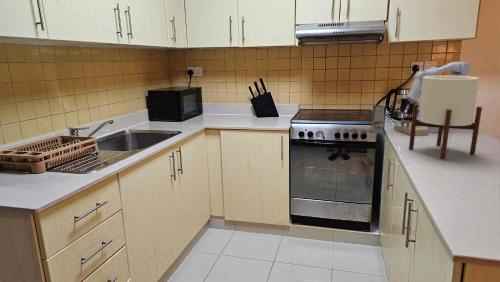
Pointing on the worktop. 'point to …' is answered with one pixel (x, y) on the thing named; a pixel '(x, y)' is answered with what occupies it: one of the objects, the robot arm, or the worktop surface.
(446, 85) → the plant pot with stand
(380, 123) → the coffee box
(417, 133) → the tan tray
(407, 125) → the carton lid
